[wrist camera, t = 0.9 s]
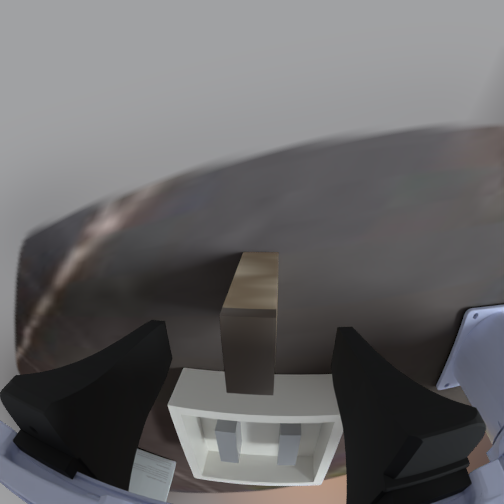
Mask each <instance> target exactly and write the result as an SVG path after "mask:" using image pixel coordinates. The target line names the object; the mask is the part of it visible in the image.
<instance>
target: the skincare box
mask: <svg viewBox="0 0 504 504" xmlns="http://www.w3.org/2000/svg"><path fill="white" fill-rule="evenodd" d="M175 466H176V461H172V460H169V459H166V458H163V457H160V456H157V455H154V454H151V453H149V452H146V451H143V450H141V449H138V448H137V451H136V455H135V459H134V464H133V468H132V473H131V479H130V485H129V492H131V493H135V494H138V495H141V496H145V497H148V498H152V499H155V500H159V501H163V502H166V500H167V496H168V492H169V489H170V485H171V482H172V478H173V474H174V470H175Z"/></svg>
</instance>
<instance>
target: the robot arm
mask: <svg viewBox="0 0 504 504" xmlns="http://www.w3.org/2000/svg"><path fill="white" fill-rule="evenodd" d="M474 314H475V315H474ZM171 361H172V355H171V350H170V345H169V340H168V336H167V330H166V325H165V321H157V320H151V321H149V322H148V323H146V324H144V325H143V326H141V327H139V328H138V329H136V330H135V331H133V332H132V333H130V334H128V335H127V336H125V337H124V338H122V339H121V340H119V341H117V342H116V343H114V344H112V345H110V346H109V347H107V348H105V349H103V350H102V351H100V352H98V353H96V354H94V355H92V356H90V357H87V358H85V359H83V360H80V361H78V362H75V363H72V364H69V365H66V366H64V367H61V368H57V369H53V370H49V371H45V372H40V373H33V374H25V375H16V376H15V377H14V378H13V379H12V380H11V381H10V382H9V383H8V384H7V385H6V386H5V387H4V388H3V389H2V391H1V392H0V398H1V401H2V403H3V405H4V406H5V408H6V410H7V411H8V412H9V414H10V415H11V417H12V418H13V419H14V421H15V422H16V424H17V425H18V426H19V428H20V429H21V430H20V431H19V432H18V434H17V433H16V432H15V431H14V430H13V429H12V428H10V427H9V426H8V425H6V424H5V423H3V422H2V421H0V482H1V483H2V484H3V485H4V486H5V487H6V488H8V489H9V490H10V491H11V492H13V493H14V494H15V495H17V496H18V497H19V498H21V499H22V500H23V501H25V502H26V503H28V504H171V503H167V502H163V501H159V500H155V499H152V498H148V497H145V496H141V495H138V494H135V493H131V492H129V485H130V479H131V473H132V468H133V464H134V459H135V455H136V451H137V448H138V444H139V440H140V437H141V434H142V431H143V428H144V424H145V421H146V419H147V417H148V414H149V412H150V410H151V408H152V406H153V404H154V402H155V400H156V398H157V396H158V394H159V392H160V389H161V387H162V385H163V383H164V381H165V379H166V377H167V374H168V371H169V367H170V364H171ZM331 369H332V379H333V387H334V391H335V395H336V400H337V404H338V408H339V412H340V417H341V421H342V426H343V431H344V439H345V451H346V469H347V503H346V504H504V304H503V305H495V306H487V307H478V308H470V309H468V310H467V311H466V312H465V314H464V317H463V320H462V323H461V326H460V329H459V332H458V335H457V337H456V340H455V343H454V345H453V348H452V350H451V353H450V355H449V358H448V360H447V363H446V365H445V367H444V369H443V372H442V374H441V376H440V378H439V380H438V383H437V385H436V387H437V389H438V390H443V389H447V388H452V387H456V386H461V388H462V389H463V391H464V393H465V394H466V396H467V398H468V400H469V401H470V403H471V405H472V406H469V405H465V404H462V403H459V402H456V401H453V400H450V399H448V398H445V397H443V396H441V395H438V394H436V393H434V392H432V391H430V390H428V389H427V388H425V387H423V386H421V385H419V384H418V383H416V382H414V381H413V380H411V379H410V378H408V377H407V376H405V375H404V374H402V373H401V372H400V371H398V370H397V369H396V368H395V367H393V366H392V365H391V364H390V363H389V362H387V361H386V360H385V359H384V358H383V357H382V356H381V355H379V354H378V353H377V352H376V351H375V350H374V349H373V348H372V347H371V346H370V345H369V344H368V343H367V342H366V341H365V340H364V339H363V338H362V337H361V336H360V335H359V334H358V333H357V332H356V330H355V329H354V328H352V327H338V328H337V334H336V340H335V346H334V352H333V358H332V363H331ZM485 431H486V433H487V435H488V437H489V439H490V441H491V443H492V445H493V446H492V447H491V448H490V449H489V450H488V451H487V453H486V454H487V456H488V458H489V461H490V462H489V463H488V464H485V465H483V466H481V467H479V468H477V469H475V470H473V471H472V472H470V473H469V474H468V472H467V469H466V468H467V467H468V466H469V464H470V463H469V460H468V458H467V456H468V455H469V454H470V453H471V452H472V451H473V449H474V448H475V447H476V446H477V445H478V443H479V442H480V441H481V439H482V438H483V436H484V433H485Z"/></svg>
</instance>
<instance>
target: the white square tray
mask: <svg viewBox="0 0 504 504" xmlns="http://www.w3.org/2000/svg"><path fill="white" fill-rule="evenodd" d="M168 408H169V411H170V414H171V417H172V420H173V423H174V426H175V429H176V432H177V434H178V437H179V440H180V443H181V445H182V448H183V450H184V453H185V456H186V458H187V461H188V463H189V465H190V468H191V470H192V473H193V475H194V477H195V478H198V479H205V480H211V481H219V482H227V483H237V484H249V485H267V486H308V485H321V484H322V482H323V479H324V477H325V475H326V473H327V470H328V468H329V466H330V463H331V461H332V458H333V456H334V454H335V451H336V448H337V446H338V443H339V441H340V438H341V435H342V433H343V426H342V421H341V417H340V412H339V408H338V404H337V400H336V395H335V391H334V387H333V379H332V374H305V375H292V374H275V375H274V393H273V395H251V394H236V393H227V392H226V382H225V373H224V372H223V371H211V370H201V369H192V368H183V370H182V372H181V375H180V377H179V379H178V382H177V384H176V386H175V388H174V391H173V393H172V395H171V398H170V400H169V402H168Z"/></svg>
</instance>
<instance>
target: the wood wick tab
mask: <svg viewBox="0 0 504 504" xmlns="http://www.w3.org/2000/svg"><path fill="white" fill-rule="evenodd" d="M277 302H278V252H243V254H242V257H241V260H240V262H239V265H238V267H237V270H236V273H235V275H234V278H233V281H232V283H231V286H230V289H229V291H228V294H227V297H226V299H225V302H224V305H223V307H222V310H221V312H220V315H219V319H220V330H221V342H222V352H223V363H224V373H225V382H226V392H227V393H236V394H251V395H273V393H274V375H275V354H276V331H277Z"/></svg>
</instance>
